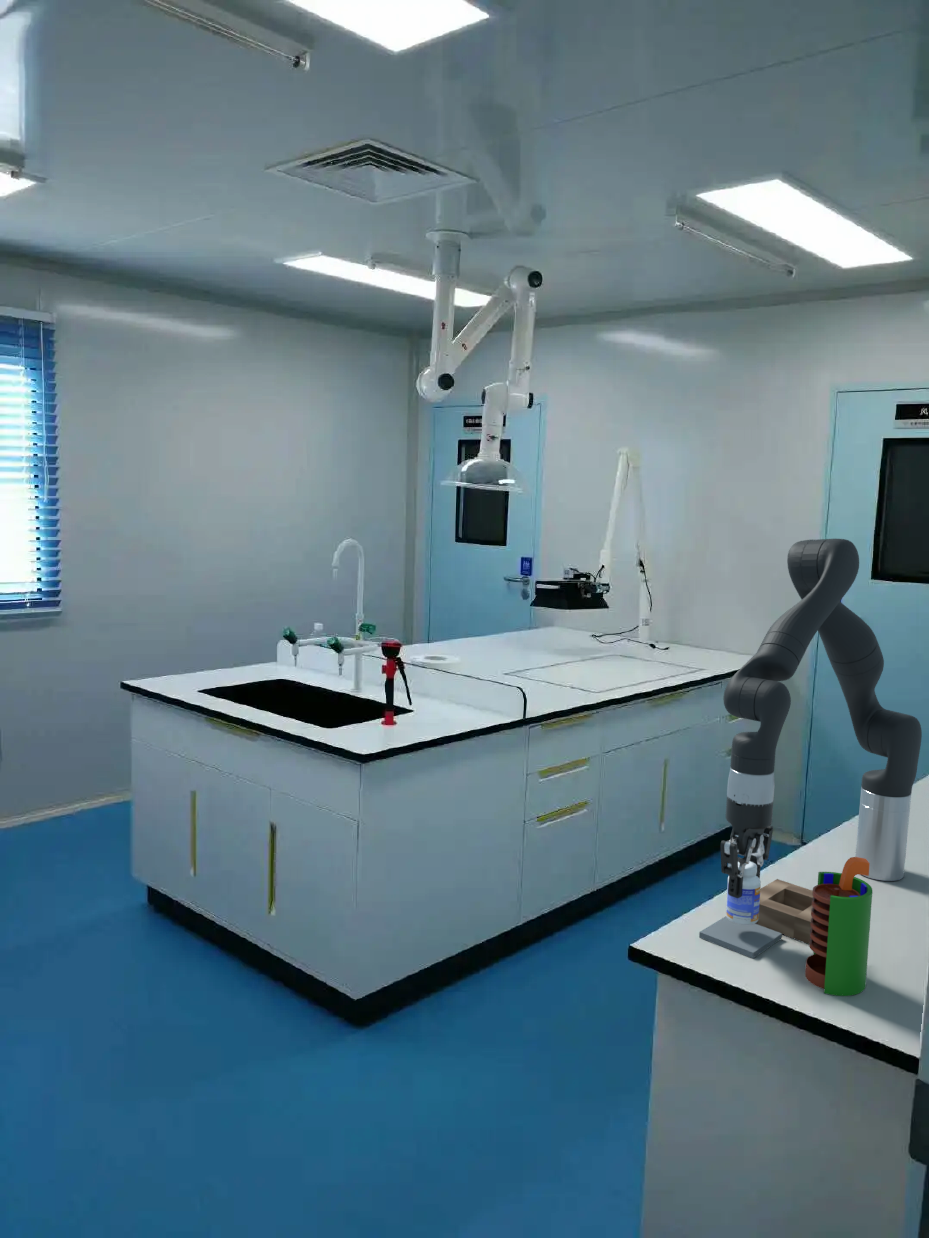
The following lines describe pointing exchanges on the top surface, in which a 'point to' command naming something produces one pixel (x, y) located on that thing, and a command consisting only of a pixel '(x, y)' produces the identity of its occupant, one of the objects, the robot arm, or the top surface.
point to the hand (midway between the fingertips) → (743, 890)
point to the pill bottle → (745, 898)
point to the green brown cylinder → (840, 930)
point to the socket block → (786, 909)
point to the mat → (740, 937)
